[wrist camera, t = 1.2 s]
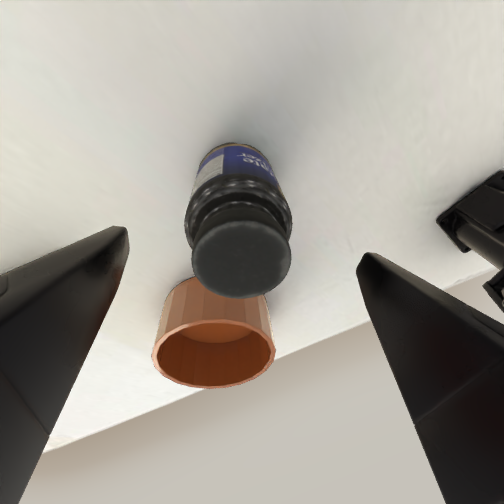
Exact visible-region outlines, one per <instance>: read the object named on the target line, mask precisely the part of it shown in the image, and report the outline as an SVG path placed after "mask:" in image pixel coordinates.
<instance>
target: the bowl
mask: <svg viewBox="0 0 504 504" xmlns="http://www.w3.org/2000/svg"><path fill="white" fill-rule="evenodd" d="M275 352H276V348H275V343H274V337H273V332H272V326H271V321H270V316H269V310H268V306H267V302H266V299H265V297H264V295H263V294H262V295H260V296H256V297H252V298H245V299H236V298H227V297H223V296H220V295H217V294H215V293H213V292H211V291H209V290H208V289H206V288H205V287H204V286H203V285H202V284H201V283H200V281H199V280H198V279H197V277H193V278H190V279H188V280H186V281H184V282H182V283H180V284H179V285H178V286H176V287H175V288H174V289H173V290H172V291H171V292H170V294H169V295H168V296H167V299H166V301H165V304H164V308H163V311H162V315H161V319H160V323H159V327H158V331H157V335H156V339H155V343H154V347H153V351H152V355H151V357H152V360H153V363H154V367H155V368H156V369H157V370H158V371H159V372H160V373H161V374H162V375H163V376H164V377H166V378H168V379H170V380H172V381H174V382H175V383H178V384H182V385H186V386H189V387H195V388H206V389H212V388H226V387H231V386H235V385H240V384H243V383H245V382H248V381H250V380H253V379H255V378H256V377H258V376H259V375H261V374H262V373H264V372H265V371H266V370H267V369H268V368H269V366H270V365H271V364H272V362H273V361H274V357H275Z"/></svg>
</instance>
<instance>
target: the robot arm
mask: <svg viewBox="0 0 504 504" xmlns="http://www.w3.org/2000/svg"><path fill="white" fill-rule="evenodd" d="M436 223H437V224H438V226H439V227H440V228H441V229H442V230H443V231H444V233H445V234H446V235H447V236H448V237H449V238H450V240H451V241H452V242H453V243H454V244H455V245H456V247H457V248H458V249H459V250H460V251H461V252H463V253H466V252H469V251H470V250H473V251H475V252H476V253H478V254H479V255H480V256H482V257H483V258H484V259H486V260H487V261H489V262H490V263H491V264H493V265H494V266H495V267H497V268H498V269H499V270H500V271H499V272H498V273H497V274H496V275H495V276H494V277H493V278H492V279H491V280H489V281H487V282H486V283H485V284H484V285H483V288H484V289H485V290H486V291H487V293H488V295H489V296H490V297H491V298H492V299H493V301H494V302H495V303H496V304H497V305H498V307H499V308H500V309H501V310H502V311H503V312H504V170H502V171H500V172H498V173H497V174H495V175H494V176H493V177H491V178H490V179H489V180H487V181H486V182H485V183H484V184H482V185H481V186H480V187H478V188H477V189H476V190H474V191H473V192H472V193H470V194H469V195H468V196H466V197H465V198H464V199H462V200H461V201H460V202H458V203H457V204H456V205H454V206H453V207H452V208H450V209H449V210H448V211H446V212H445V213H444V214H442V215H441V216H440V217H439V218H438V219H437V220H436ZM128 255H129V239H128V232H127V229H126V228H125V227H120V226H112V227H109V228H107V229H105V230H102V231H100V232H98V233H96V234H93V235H91V236H89V237H87V238H84V239H82V240H80V241H77V242H75V243H73V244H71V245H68V246H66V247H64V248H62V249H59V250H57V251H55V252H53V253H50V254H48V255H46V256H43V257H41V258H39V259H37V260H34V261H32V262H30V263H28V264H25V265H23V266H21V267H18V268H16V269H14V270H12V271H9V272H8V274H6V273H5V274H2V275H0V504H18V503H19V501H20V499H21V497H22V495H23V493H24V491H25V488H26V486H27V484H28V482H29V480H30V478H31V475H32V473H33V471H34V469H35V467H36V465H37V463H38V460H39V458H40V456H41V454H42V452H43V450H44V448H45V445H46V443H47V441H48V439H49V435H50V434H51V432H52V430H53V428H54V426H55V423H56V421H57V419H58V417H59V415H60V413H61V411H62V408H63V406H64V404H65V402H66V400H67V398H68V396H69V393H70V391H71V389H72V387H73V385H74V383H75V381H76V378H77V376H78V374H79V372H80V370H81V368H82V365H83V363H84V361H85V359H86V357H87V355H88V353H89V350H90V348H91V346H92V344H93V342H94V340H95V338H96V335H97V333H98V331H99V329H100V327H101V325H102V322H103V320H104V318H105V316H106V314H107V312H108V310H109V307H110V305H111V303H112V301H113V299H114V297H115V294H116V292H117V290H118V287H119V284H120V281H121V277H122V274H123V271H124V268H125V265H126V261H127V258H128ZM356 275H357V278H358V282H359V285H360V289H361V292H362V296H363V299H364V302H365V306H366V308H367V311H368V313H369V316H370V318H371V321H372V323H373V326H374V328H375V330H376V333H377V335H378V338H379V340H380V343H381V345H382V348H383V350H384V353H385V355H386V357H387V360H388V362H389V365H390V367H391V370H392V372H393V374H394V377H395V380H396V382H397V384H398V387H399V389H400V391H401V394H402V397H403V399H404V402H405V404H406V406H407V409H408V411H409V414H410V416H411V419H412V421H413V424H415V429H416V431H417V434H418V436H419V439H420V441H421V444H422V446H423V449H424V451H425V453H426V456H427V458H428V461H429V463H430V466H431V468H432V471H433V473H434V475H435V478H436V481H437V483H438V485H439V488H440V490H441V493H442V495H443V498H444V500H445V503H446V504H504V325H503V324H501V323H500V322H498V321H496V320H494V319H492V318H491V317H489V316H487V315H485V314H483V313H482V312H480V311H478V310H476V309H474V308H473V307H471V306H469V305H466V304H465V303H463V302H462V301H460V300H458V299H457V298H455V297H453V296H451V295H450V294H448V293H446V292H444V291H442V290H441V289H439V288H437V287H435V286H434V285H432V284H430V283H428V282H427V281H425V280H423V279H421V278H419V277H418V276H416V275H414V274H412V273H411V272H409V271H407V270H405V269H404V268H402V267H400V266H398V265H396V264H395V263H393V262H391V261H389V260H388V259H386V258H384V257H382V256H381V255H379V254H377V253H370V252H367V253H365V254H364V255H363V257H362V259H361V261H360V263H359V264H358V266H357V269H356Z"/></svg>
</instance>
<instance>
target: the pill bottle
mask: <svg viewBox="0 0 504 504" xmlns="http://www.w3.org/2000/svg"><path fill="white" fill-rule="evenodd" d="M292 224H293V223H292V216H291V211H290V208H289V206H288V203H287V201H286V199H285V197H284V195H283V193H282V191H281V188H280V186H279V184H278V182H277V179H276V177H275V175H274V173H273V171H272V168H271V166H270V164H269V162H268V160H267V159H266V158H265V156H264V155H263V154H262V153H261V152H260V151H258V150H257V149H255V148H254V147H252V146H250V145H246V144H237V143H226V144H222V145H220V146H218V147H216V148H214V149H213V150H212V151H210V152H209V153H208V154H207V155H206V156H205V158H204V159H203V160H202V162H201V164H200V166H199V169H198V173H197V176H196V180H195V183H194V187H193V190H192V194H191V197H190V201H189V205H188V208H187V211H186V215H185V224H184V226H185V233H186V237H187V240H188V243H189V245H190V247H191V248H192V258H191V260H192V268H193V271H194V273H195V276H196V277H197V279H198V280H199V281H200V283H201V284H202V285H203V286H204V287H205V288H206V289H208V290H209V291H211V292H213V293H215V294H217V295H220V296H223V297H227V298H236V299H245V298H252V297H256V296H260V295H262V294H264V293H266V292H269V291H271V290H272V289H273V288H275V287H276V286H277V285H279V284H280V283H281V281H283V279H284V278H285V276H286V275H287V273H288V271H289V268H290V264H291V250H290V246H289V243H288V241H289V239H290V235H291V231H292Z"/></svg>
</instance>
